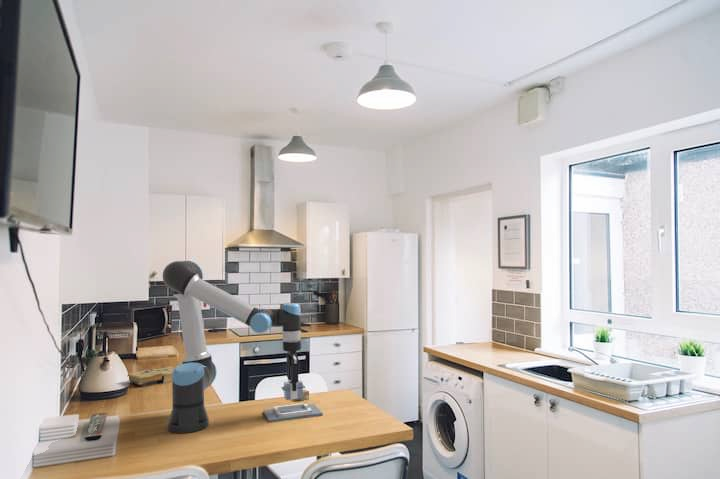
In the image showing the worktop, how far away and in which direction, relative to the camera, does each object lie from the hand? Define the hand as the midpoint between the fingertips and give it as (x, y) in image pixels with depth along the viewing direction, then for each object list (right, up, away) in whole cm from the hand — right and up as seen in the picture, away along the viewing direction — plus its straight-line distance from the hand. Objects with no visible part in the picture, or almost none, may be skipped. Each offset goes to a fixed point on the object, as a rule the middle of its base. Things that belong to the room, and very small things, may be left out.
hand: (292, 396), depth 206 cm
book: (-82, -11, +60) cm, 102 cm away
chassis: (0, -7, 0) cm, 7 cm away
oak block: (+2, -8, +21) cm, 22 cm away
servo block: (0, 0, 0) cm, 1 cm away
